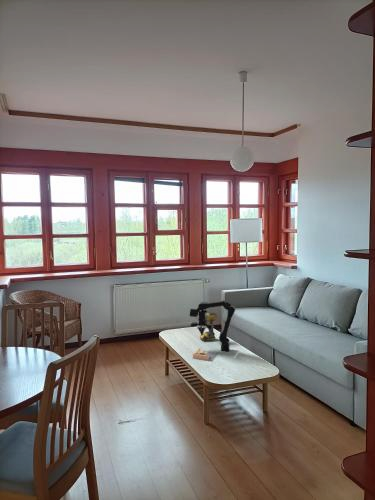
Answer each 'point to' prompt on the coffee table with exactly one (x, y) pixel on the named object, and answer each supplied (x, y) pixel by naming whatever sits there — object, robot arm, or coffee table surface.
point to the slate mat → (211, 355)
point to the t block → (201, 352)
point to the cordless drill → (209, 335)
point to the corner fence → (200, 356)
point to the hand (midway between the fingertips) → (202, 335)
